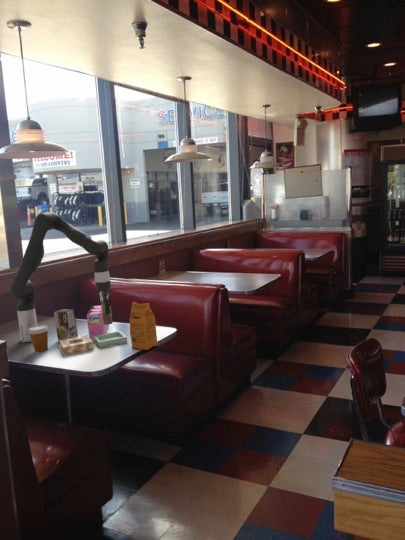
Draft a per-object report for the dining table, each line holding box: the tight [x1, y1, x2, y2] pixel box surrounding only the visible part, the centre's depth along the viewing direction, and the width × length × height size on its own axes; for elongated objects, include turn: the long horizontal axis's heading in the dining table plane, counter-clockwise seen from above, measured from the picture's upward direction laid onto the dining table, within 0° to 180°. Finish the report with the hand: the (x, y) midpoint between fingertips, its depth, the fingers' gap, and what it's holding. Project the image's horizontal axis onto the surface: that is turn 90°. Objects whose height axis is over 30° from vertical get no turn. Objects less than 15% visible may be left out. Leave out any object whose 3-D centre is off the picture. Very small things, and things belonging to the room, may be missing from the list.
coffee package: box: [129, 301, 159, 351], centre depth 239 cm, size 10×12×22 cm
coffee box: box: [53, 308, 79, 342], centre depth 265 cm, size 9×6×16 cm
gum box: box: [86, 304, 110, 340], centre depth 274 cm, size 24×8×14 cm, turn 4°
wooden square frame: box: [59, 335, 95, 356], centre depth 248 cm, size 14×14×4 cm
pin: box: [100, 300, 114, 325], centre depth 252 cm, size 5×5×12 cm
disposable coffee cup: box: [28, 324, 49, 353], centre depth 250 cm, size 10×10×12 cm
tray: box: [93, 330, 128, 349], centre depth 254 cm, size 14×14×3 cm
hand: (106, 313), depth 252 cm, fingers closed on pin, 4 cm apart
